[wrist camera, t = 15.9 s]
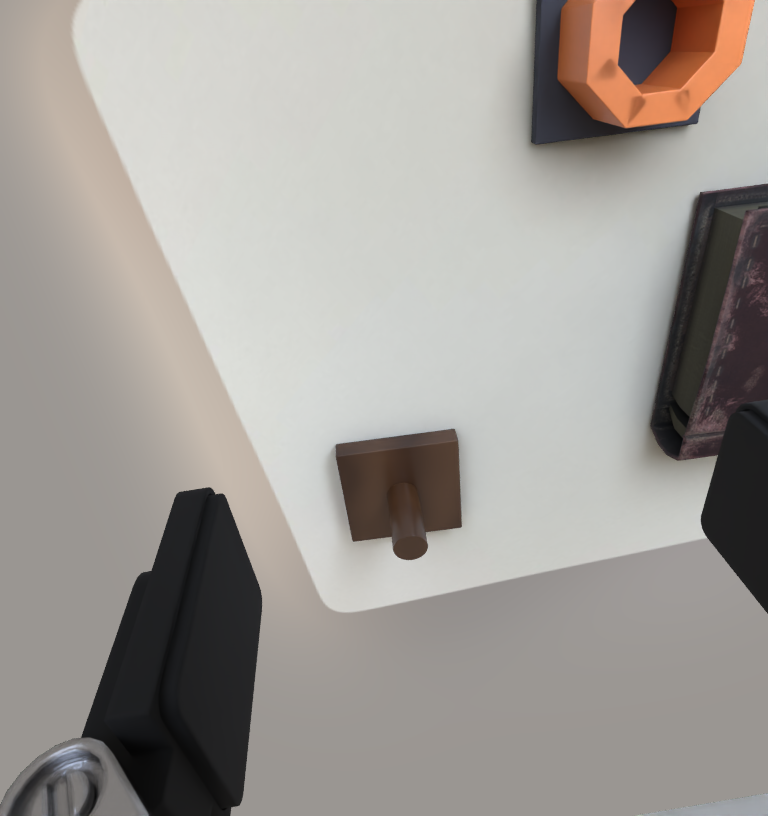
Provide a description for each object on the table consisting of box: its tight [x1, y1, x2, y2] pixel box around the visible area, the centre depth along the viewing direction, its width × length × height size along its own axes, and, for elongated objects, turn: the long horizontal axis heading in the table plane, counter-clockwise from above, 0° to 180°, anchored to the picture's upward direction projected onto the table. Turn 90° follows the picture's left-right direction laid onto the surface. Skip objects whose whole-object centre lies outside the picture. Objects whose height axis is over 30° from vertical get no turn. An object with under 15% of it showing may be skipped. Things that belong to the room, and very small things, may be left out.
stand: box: [336, 429, 462, 560], centre depth 41 cm, size 9×9×7 cm
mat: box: [531, 0, 701, 144], centre depth 28 cm, size 9×9×1 cm
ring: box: [557, 0, 755, 128], centre depth 26 cm, size 7×7×4 cm
